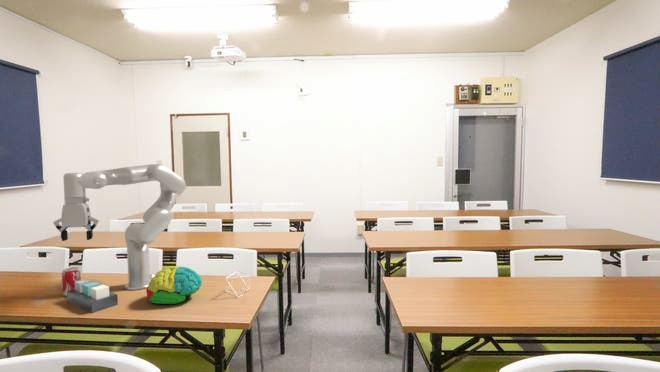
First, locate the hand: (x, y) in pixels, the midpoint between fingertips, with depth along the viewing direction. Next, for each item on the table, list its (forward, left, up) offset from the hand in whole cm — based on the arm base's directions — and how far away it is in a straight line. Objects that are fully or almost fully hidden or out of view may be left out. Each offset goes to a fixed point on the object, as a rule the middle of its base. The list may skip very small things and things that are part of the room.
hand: (77, 239), depth 151 cm
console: (-2, +6, -28) cm, 29 cm away
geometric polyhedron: (-44, +52, -28) cm, 74 cm away
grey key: (-2, -1, -24) cm, 24 cm away
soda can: (-2, -14, -28) cm, 31 cm away
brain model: (-24, +33, -28) cm, 50 cm away
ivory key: (-2, +14, -24) cm, 28 cm away
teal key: (-2, +6, -24) cm, 25 cm away
